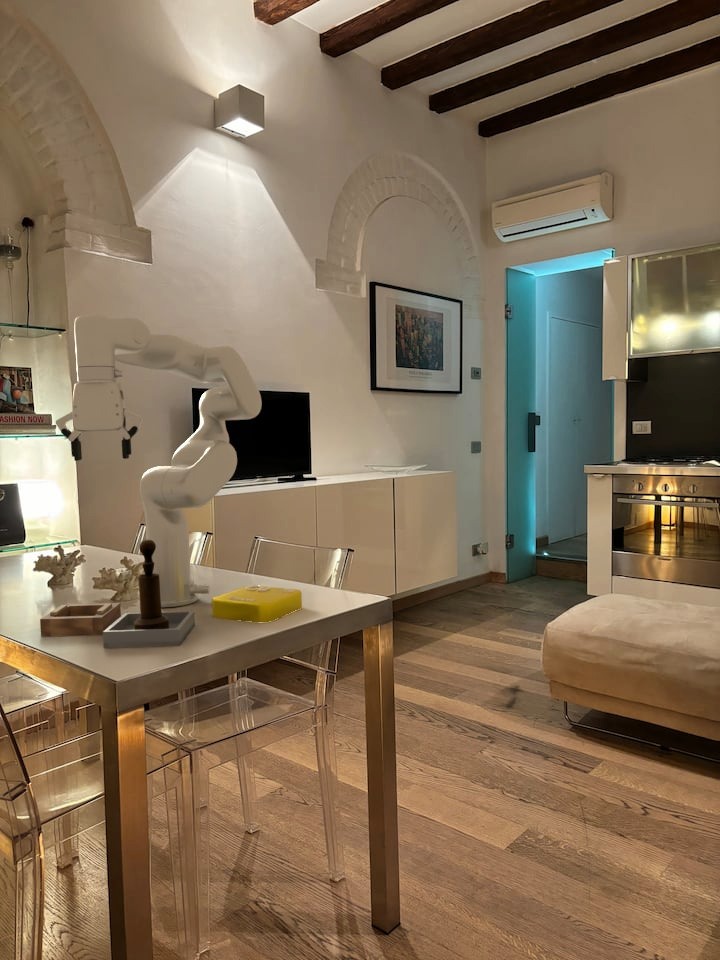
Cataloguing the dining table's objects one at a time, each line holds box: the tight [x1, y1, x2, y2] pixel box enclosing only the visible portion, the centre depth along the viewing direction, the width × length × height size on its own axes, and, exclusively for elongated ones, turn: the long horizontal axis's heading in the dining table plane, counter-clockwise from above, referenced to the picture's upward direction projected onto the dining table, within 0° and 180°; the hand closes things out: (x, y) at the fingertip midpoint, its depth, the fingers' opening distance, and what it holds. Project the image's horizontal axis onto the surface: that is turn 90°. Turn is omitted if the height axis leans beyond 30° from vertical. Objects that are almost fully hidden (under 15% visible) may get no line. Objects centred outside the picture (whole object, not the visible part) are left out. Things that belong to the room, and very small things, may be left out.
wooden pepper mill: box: [134, 539, 169, 630], centre depth 141 cm, size 7×6×18 cm
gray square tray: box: [102, 610, 196, 649], centre depth 141 cm, size 14×14×3 cm
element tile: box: [211, 584, 303, 623], centre depth 159 cm, size 15×15×5 cm
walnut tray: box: [39, 602, 122, 638], centre depth 149 cm, size 12×12×4 cm
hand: (102, 459), depth 152 cm, fingers open, 9 cm apart
